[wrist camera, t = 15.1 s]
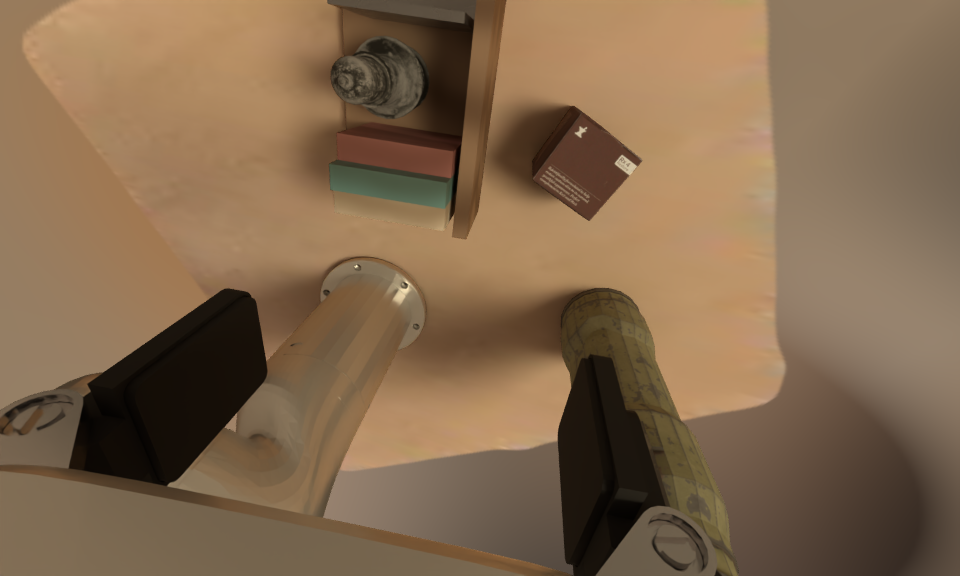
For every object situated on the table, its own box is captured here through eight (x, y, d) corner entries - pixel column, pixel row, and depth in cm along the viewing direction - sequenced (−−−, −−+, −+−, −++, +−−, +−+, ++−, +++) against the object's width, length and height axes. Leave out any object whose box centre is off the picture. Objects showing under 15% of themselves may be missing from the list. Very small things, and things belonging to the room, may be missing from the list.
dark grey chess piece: (399, 129, 37) (344, 152, 26) (353, 72, 35) (274, 72, 24) (446, 84, 34) (407, 90, 24) (400, 21, 33) (335, -3, 22)
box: (530, 161, 38) (529, 179, 31) (572, 103, 35) (581, 110, 28) (580, 198, 39) (589, 223, 32) (625, 145, 36) (644, 161, 30)
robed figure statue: (576, 370, 48) (646, 877, 18) (545, 289, 44) (568, 792, 13) (651, 353, 46) (882, 908, 15) (627, 265, 41) (890, 816, 11)
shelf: (478, 210, 40) (462, 248, 32) (352, 189, 41) (302, 221, 32) (511, -38, 31) (501, -82, 22) (345, -61, 31) (271, -113, 23)
